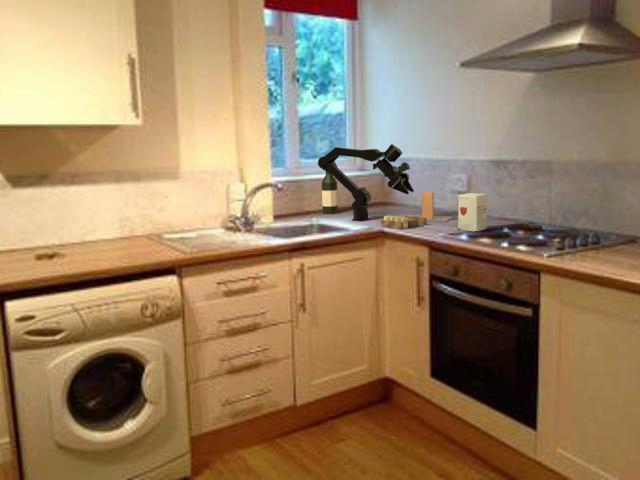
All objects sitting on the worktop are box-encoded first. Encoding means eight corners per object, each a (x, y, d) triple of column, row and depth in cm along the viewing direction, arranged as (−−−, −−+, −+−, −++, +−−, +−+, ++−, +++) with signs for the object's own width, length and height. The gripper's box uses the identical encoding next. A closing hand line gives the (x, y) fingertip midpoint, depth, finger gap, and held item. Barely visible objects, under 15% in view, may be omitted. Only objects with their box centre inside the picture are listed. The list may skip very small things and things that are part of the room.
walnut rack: (381, 229, 268) (381, 220, 268) (406, 224, 278) (406, 215, 277) (401, 231, 259) (401, 222, 258) (426, 226, 269) (426, 217, 268)
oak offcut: (394, 227, 264) (394, 217, 263) (399, 226, 266) (399, 216, 265) (403, 228, 260) (403, 218, 259) (408, 228, 262) (407, 217, 261)
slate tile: (403, 223, 282) (403, 220, 282) (410, 218, 294) (410, 215, 294) (446, 224, 274) (446, 220, 274) (452, 219, 287) (452, 216, 286)
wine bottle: (321, 212, 330) (319, 157, 325) (337, 211, 331) (335, 156, 325) (323, 214, 322) (321, 157, 316) (339, 213, 323) (337, 156, 317)
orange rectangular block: (421, 218, 284) (421, 192, 281) (423, 217, 286) (423, 192, 284) (432, 218, 282) (432, 193, 279) (434, 217, 284) (433, 192, 282)
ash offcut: (384, 226, 269) (384, 216, 268) (389, 225, 271) (388, 215, 270) (392, 227, 265) (392, 217, 264) (397, 226, 267) (397, 216, 266)
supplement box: (457, 230, 258) (457, 194, 255) (468, 227, 264) (468, 192, 261) (476, 231, 251) (476, 195, 249) (487, 228, 258) (487, 193, 255)
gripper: (393, 158, 276) (417, 182, 273) (404, 155, 292) (427, 178, 290) (377, 175, 280) (401, 199, 278) (389, 172, 297) (411, 195, 295)
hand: (410, 192), depth 285 cm, fingers open, 9 cm apart
